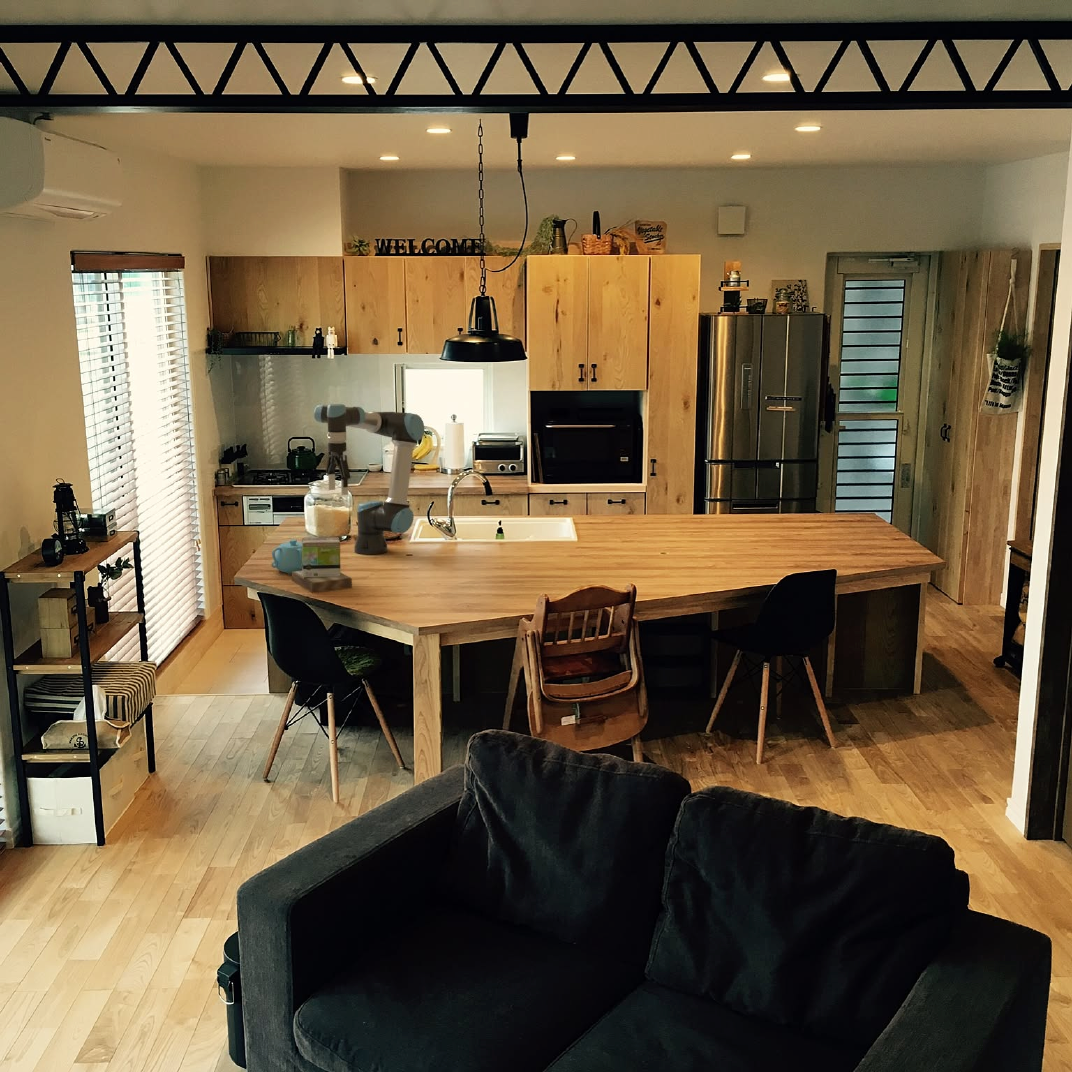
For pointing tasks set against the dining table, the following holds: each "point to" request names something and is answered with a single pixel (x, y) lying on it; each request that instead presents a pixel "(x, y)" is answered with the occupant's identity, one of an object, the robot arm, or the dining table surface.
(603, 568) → the dining table surface
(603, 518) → the dining table surface
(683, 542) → the dining table surface
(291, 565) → the decorative pot
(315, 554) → the tea box
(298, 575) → the tray
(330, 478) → the robot arm
